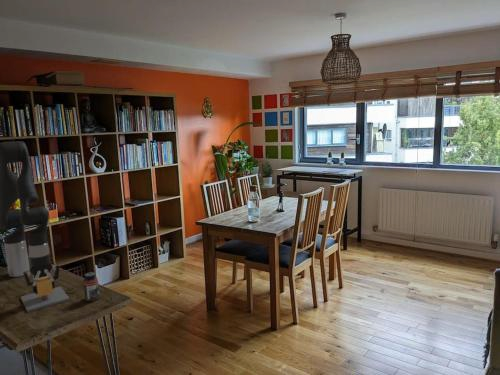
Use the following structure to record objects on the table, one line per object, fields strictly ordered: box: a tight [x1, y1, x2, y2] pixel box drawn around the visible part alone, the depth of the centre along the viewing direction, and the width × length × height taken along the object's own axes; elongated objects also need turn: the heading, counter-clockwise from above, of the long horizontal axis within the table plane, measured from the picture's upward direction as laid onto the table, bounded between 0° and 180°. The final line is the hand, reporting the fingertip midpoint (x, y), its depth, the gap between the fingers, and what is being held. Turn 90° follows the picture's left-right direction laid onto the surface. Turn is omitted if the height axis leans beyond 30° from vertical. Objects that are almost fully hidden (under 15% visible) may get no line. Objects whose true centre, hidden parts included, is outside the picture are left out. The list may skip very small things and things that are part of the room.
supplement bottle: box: [82, 271, 101, 302], centre depth 168 cm, size 6×6×11 cm
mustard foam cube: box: [36, 276, 53, 297], centre depth 168 cm, size 6×6×6 cm
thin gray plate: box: [20, 286, 71, 313], centre depth 169 cm, size 16×16×5 cm
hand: (44, 291), depth 168 cm, fingers closed on mustard foam cube, 5 cm apart
